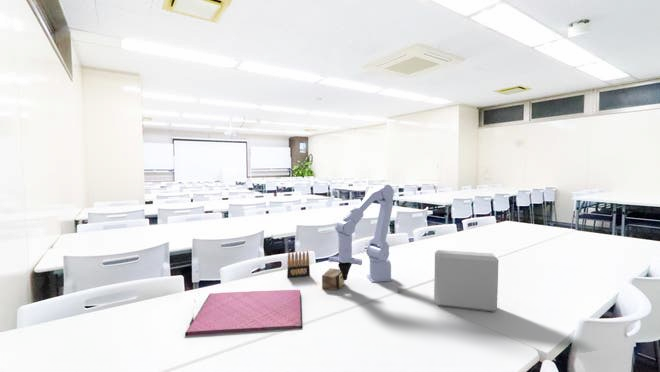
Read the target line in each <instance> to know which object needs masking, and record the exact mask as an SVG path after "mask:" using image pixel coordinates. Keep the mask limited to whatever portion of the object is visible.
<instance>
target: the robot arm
mask: <svg viewBox="0 0 660 372" xmlns="http://www.w3.org/2000/svg"><path fill="white" fill-rule="evenodd" d="M394 194H395V190H394V188H393V186H392V185H390V184H377V183H374V184H372V185H371V186H370V188H368V190H367V193H366V195H365V196H364V197H363V199H362V200H361V201H360V202H359V204H358V205H357V206H356V207H352V208H350V210H349V212H348V213H347V214H346V215H345V217H343V219H341V220H339V221H338V222H337V223H336V226H335V231H336V232H337V237H338V256H332V255H331V256H329V257H328V262H329V263H333V262H334V263H338V264H337V267H338V269H340V270H341V273H342V276H343V280H344V281H347V279H348V275H349V272H350V270H351V267H352V265H358V266H362V264H363V260H362V259H361V258H356V257H353V248H352V247H353V244H352V243H353V241H352V240H353V239H352V238H353V234H354V232H355V231H356V230H355V229H356V226H357V224H358V223H359V222H361V219H362V218H363V217H364V212H365V211H367V209H368V208H369V207H370V206H371V205H372V204H373V203H374V201H375V202H376V201H377V202H378V204H379V205H380V206H379V207H380V208H379V212H378V217H377V221H376V227H375V231H374V236H373V238H372V239H371V240H369V243H368V246H367V247H366V255H367V257H368V259H369V274H367V275H366V277H367V278H368V279H369V281H370V282H371V283H377V282H391V281H392V264H391V261H390V259H389V256H390V249H389V248H390V244H388V242H387V237H388V231H389V226H390V221H391V215H392V211H393V206H394V196H395V195H394Z"/></svg>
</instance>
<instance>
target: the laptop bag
mask: <svg viewBox="0 0 660 372" xmlns="http://www.w3.org/2000/svg"><path fill="white" fill-rule="evenodd" d="M301 294H302V293H301V290H300V289H281V290H278V289H277V290H255V291H252V290H251V291H231V292H216V293H215V292H213V293H209V294H208V296H207V298H206V299H205V300H204V302H203V304H202V305H201V307H200V309H199V310H198V312H197V314H196V315H195V317H194V313H193V314H192V315H193V316H192V317H191V319H190V323H189V326H188V328H187V330H186V332H185V334H184V335H185V336H186V337H187V336H194V335H195V336H196V335H205V334H206V335H207V334H216V333H217V334H218V333H219V334H221V333H231V332H242V331H243V332H244V331H245V332H246V331H256V330H257V331H259V330H260V331H261V330H274V329H291V328H301V329H303V313H302V311H303V310H302V295H301ZM193 301H194V302H196V300H195V299H193Z"/></svg>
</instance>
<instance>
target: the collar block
mask: <svg viewBox="0 0 660 372" xmlns="http://www.w3.org/2000/svg"><path fill="white" fill-rule="evenodd" d="M340 274H341V270H340V268H329V269H327V271H325V273H324V274H322V275H321V288H322V289H323V290H330V291H337V290H339V275H340Z"/></svg>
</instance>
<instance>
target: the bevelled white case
mask: <svg viewBox="0 0 660 372" xmlns="http://www.w3.org/2000/svg"><path fill="white" fill-rule="evenodd" d="M433 283H434V285H433V287H434V289H433V290H434V292H433V293H434V295H433V297H434V303H435V304H436V306H439V307H449V308H458V309H467V310H477V311H482V312H483V311H484V312H495V311H496V310H497V309H498V293H499V292H498V287H499V285H498V284H499V259H498V258H497V257H496V256H495V255H494V254H493V253H492V252H491V253H490V252H489V253H487V252H473V251H455V250H441V249H438V250H436V251H435V252H434V282H433Z"/></svg>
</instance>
